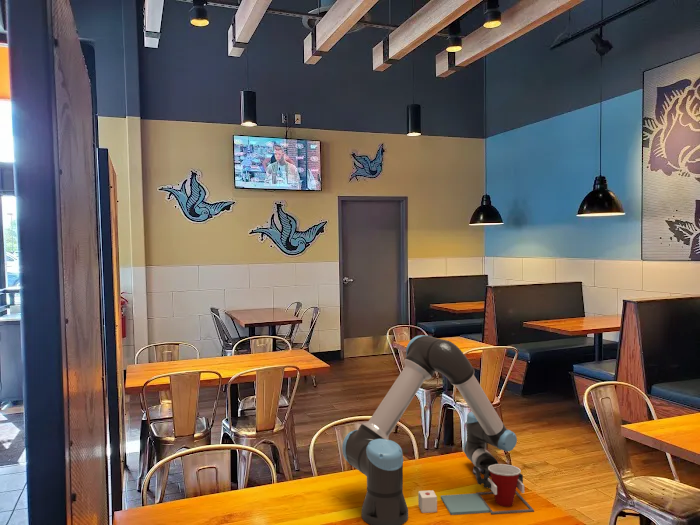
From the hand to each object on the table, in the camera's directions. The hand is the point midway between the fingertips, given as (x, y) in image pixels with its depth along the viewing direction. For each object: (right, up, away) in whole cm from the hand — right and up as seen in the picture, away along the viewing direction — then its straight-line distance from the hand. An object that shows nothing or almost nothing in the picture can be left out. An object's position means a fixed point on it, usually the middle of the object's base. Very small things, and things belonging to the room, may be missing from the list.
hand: (509, 489), depth 181 cm
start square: (-1, -6, +5) cm, 8 cm away
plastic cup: (0, -7, +5) cm, 8 cm away
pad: (-14, -6, +3) cm, 16 cm away
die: (-27, -7, +1) cm, 28 cm away
